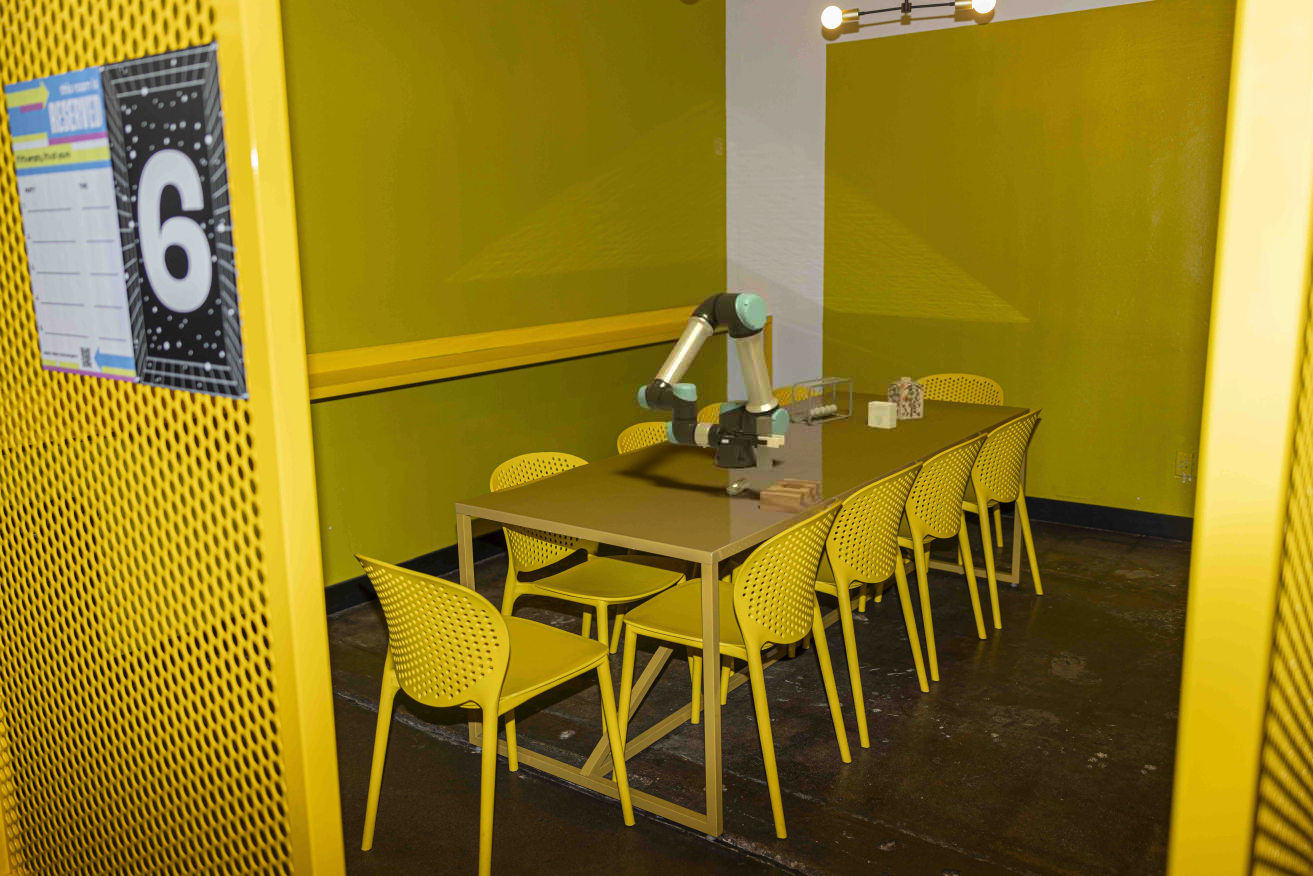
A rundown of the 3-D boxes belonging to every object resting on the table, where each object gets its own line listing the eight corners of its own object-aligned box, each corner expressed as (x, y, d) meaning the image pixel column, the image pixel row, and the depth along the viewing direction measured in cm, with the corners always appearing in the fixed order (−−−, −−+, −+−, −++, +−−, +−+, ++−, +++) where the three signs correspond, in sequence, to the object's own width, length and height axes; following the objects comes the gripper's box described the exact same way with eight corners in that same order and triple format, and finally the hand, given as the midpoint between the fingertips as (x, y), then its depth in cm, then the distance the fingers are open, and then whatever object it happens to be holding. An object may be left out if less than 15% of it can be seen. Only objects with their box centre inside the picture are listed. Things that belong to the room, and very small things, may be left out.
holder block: (784, 493, 314) (785, 478, 313) (820, 497, 308) (820, 482, 307) (760, 508, 297) (760, 492, 296) (797, 513, 291) (797, 497, 290)
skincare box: (896, 426, 418) (897, 402, 416) (889, 429, 413) (890, 404, 411) (874, 424, 425) (875, 400, 423) (867, 426, 420) (868, 402, 418)
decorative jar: (886, 416, 443) (887, 376, 439) (909, 414, 446) (910, 375, 443) (900, 420, 432) (901, 380, 428) (923, 418, 435) (925, 378, 432)
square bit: (761, 467, 304) (761, 416, 301) (772, 468, 302) (772, 417, 299) (756, 469, 301) (756, 418, 298) (767, 470, 299) (767, 419, 296)
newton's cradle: (809, 426, 424) (810, 385, 420) (791, 423, 431) (791, 383, 428) (852, 417, 443) (853, 378, 440) (833, 414, 451) (834, 376, 447)
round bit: (737, 479, 322) (746, 476, 321) (741, 490, 322) (750, 486, 321) (724, 486, 314) (734, 483, 312) (728, 497, 314) (738, 494, 312)
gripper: (724, 441, 316) (791, 448, 305) (699, 452, 302) (769, 459, 291) (724, 419, 315) (792, 424, 303) (699, 428, 301) (769, 434, 289)
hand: (780, 441), depth 297 cm, fingers closed on square bit, 4 cm apart
